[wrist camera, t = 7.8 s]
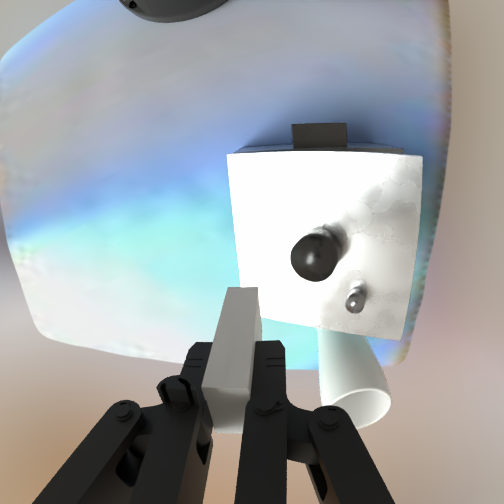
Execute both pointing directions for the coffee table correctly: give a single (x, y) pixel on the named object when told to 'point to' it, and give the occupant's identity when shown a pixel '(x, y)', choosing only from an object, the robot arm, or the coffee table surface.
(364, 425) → the white hollow cylinder
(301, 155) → the lid
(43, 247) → the coffee table surface
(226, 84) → the coffee table surface
